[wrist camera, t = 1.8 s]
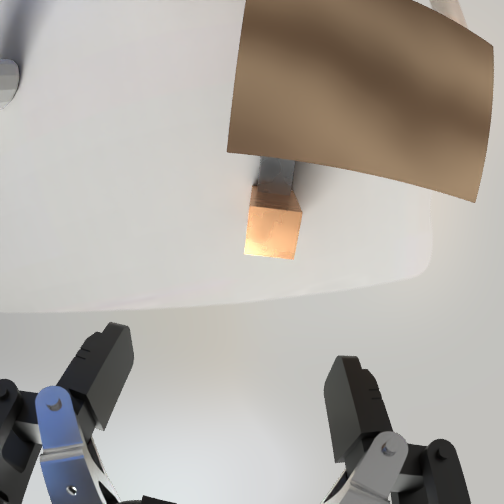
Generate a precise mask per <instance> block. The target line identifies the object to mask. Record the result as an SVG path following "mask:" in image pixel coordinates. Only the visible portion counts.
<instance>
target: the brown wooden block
mask: <svg viewBox="0 0 504 504" xmlns="http://www.w3.org/2000/svg"><path fill="white" fill-rule="evenodd" d="M493 78H494V55H493V46H492V45H491V44H489V43H488V42H486V41H485V40H484V39H482V38H481V37H479V36H477V35H476V34H474V33H473V32H471V31H470V30H468V29H467V28H465V27H463V26H462V25H460V24H458V23H456V22H455V21H453V20H451V19H449V18H448V17H446V16H444V15H442V14H440V13H438V12H436V11H434V10H432V9H430V8H428V7H426V6H424V5H422V4H419V3H418V2H415V1H413V0H246V4H245V10H244V17H243V23H242V30H241V37H240V44H239V52H238V59H237V67H236V75H235V83H234V91H233V99H232V108H231V117H230V126H229V135H228V145H227V152H228V153H238V154H248V155H257V156H265V157H273V158H280V159H288V160H294V161H301V162H307V163H314V164H319V165H325V166H331V167H336V168H342V169H347V170H352V171H357V172H361V173H366V174H371V175H375V176H380V177H384V178H388V179H393V180H397V181H401V182H405V183H409V184H413V185H416V186H420V187H424V188H427V189H431V190H434V191H438V192H442V193H445V194H448V195H451V196H455V197H458V198H461V199H464V200H467V201H471V202H473V203H475V201H476V197H477V194H478V190H479V186H480V181H481V177H482V172H483V167H484V162H485V157H486V151H487V145H488V138H489V131H490V122H491V112H492V101H493V81H494V79H493Z"/></svg>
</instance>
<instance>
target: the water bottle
mask: <svg viewBox="0 0 504 504" xmlns="http://www.w3.org/2000/svg"><path fill="white" fill-rule="evenodd" d="M18 82H19V70H18V66H17V64H16V63H15V62H14V61H13V60H10V59H0V109H3V108H4V107H5V106H6V105H7V104H8V103H9V102H10V101H11V100H12V99H13V97H14V94H15V92H16V90H17V87H18Z"/></svg>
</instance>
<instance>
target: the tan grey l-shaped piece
mask: <svg viewBox="0 0 504 504" xmlns="http://www.w3.org/2000/svg"><path fill="white" fill-rule="evenodd" d="M294 167H295V161H294V160H288V159H280V158H273V157H265V156H261V162H260V170H259V178H258V186H252V193H251V200H250V208H249V217H248V225H247V234H246V243H245V252H244V254H249V255H258V256H267V257H276V258H285V259H293V260H294V255H295V250H296V245H297V239H298V234H299V229H300V223H301V218H302V210H301V208H300V206H299V204H298V201H297V199H296V197H295V194H294V192H293V191H291V186H292V180H293V173H294Z"/></svg>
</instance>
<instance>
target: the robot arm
mask: <svg viewBox="0 0 504 504" xmlns="http://www.w3.org/2000/svg"><path fill="white" fill-rule="evenodd" d="M133 360H134V352H133V346H132V340H131V335H130V329H129V327H128V326H125V325H121V324H117V323H112V322H110V323H109V324H108V325H107V326H106V328H105V329H104V331H103V332H102V333H100V332H95V333H94V334H93V335H91V336H90V337H88V338H87V339H86V340H85V342H84V344H83V345H82V346H81V349H80V350H79V351H78V352H77V354H76V357H74V358H73V360H72V361H71V363H70V364H69V366H68V368H67V369H66V371H65V372H64V374H63V376H62V377H61V379H60V380H59V382H58V383H57V385H56V386H49V387H46V388H44V389H42V390H41V391H40V392H39V393H33V392H25V391H19V390H18V388H17V386H16V385H15V384H14V383H13V382H12V381H11V380H8V379H1V380H0V504H22V500H23V497H24V494H25V491H26V488H27V485H28V482H29V479H30V476H31V474H32V471H33V468H34V465H35V463H36V460H37V457H38V455H39V453H40V450H41V448H42V446H43V454H41V455H40V464H41V468H42V472H43V476H44V479H45V483H46V486H47V490H48V493H49V496H50V499H51V502H52V504H176V503H172V502H167V501H163V500H159V499H155V498H151V497H147V496H144V495H143V497H142V500H134V501H133V500H131V501H123V502H121V500H120V498H119V496H118V494H117V492H116V490H115V488H114V487H113V485H112V483H111V482H110V480H109V478H108V476H107V474H106V472H105V469H104V467H103V464H102V462H101V459H100V456H99V454H98V451H97V448H96V446H95V443H94V440H93V437H92V433H93V431H94V428H97V429H99V430H103V431H104V430H105V428H106V425H107V423H108V420H109V418H110V416H111V413H112V411H113V409H114V407H115V404H116V402H117V399H118V397H119V395H120V393H121V391H122V388H123V386H124V383H125V382H126V379H127V377H128V375H129V373H130V371H131V368H132V365H133ZM324 398H325V404H326V409H327V415H328V421H329V427H330V433H331V439H332V446H333V452H334V459H335V463H340V462H345V465H346V469H345V470H344V471H343V472H342V474H341V475H340V477H339V478H338V480H337V481H336V483H335V484H334V486H333V487H332V488H331V490H330V491H329V492H328V494H327V495H326V497H325V498H324V499H323V501H322V502H321V503H320V504H390V501H388V496H389V494H390V492H391V499H392V504H471V502H470V498H469V494H468V490H467V486H466V482H465V479H464V475H463V472H462V468H461V465H460V462H459V459H458V456H457V453H456V450H455V448H454V446H453V445H452V444H451V443H450V442H449V441H447V440H444V439H437V440H434V441H433V442H431V443H430V444H429V445H428V446H420V445H413V444H408V443H407V442H406V440H405V439H404V438H403V437H402V436H401V435H400V434H398V433H395V432H393V430H392V427H391V423H390V420H389V417H388V414H387V411H386V408H385V405H384V402H383V400H382V397H381V393H380V391H379V388H378V385H377V382H376V379H375V378H374V376H373V375H372V374H371V373H370V372H369V371H368V369H362V368H361V365H360V362H359V359H358V357H356V356H337V358H336V359H335V362H334V364H333V366H332V368H331V370H330V372H329V374H328V377H327V379H326V381H325V386H324Z"/></svg>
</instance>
